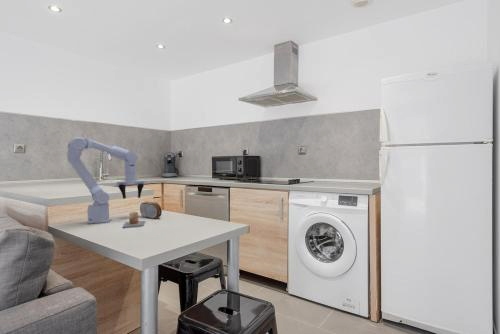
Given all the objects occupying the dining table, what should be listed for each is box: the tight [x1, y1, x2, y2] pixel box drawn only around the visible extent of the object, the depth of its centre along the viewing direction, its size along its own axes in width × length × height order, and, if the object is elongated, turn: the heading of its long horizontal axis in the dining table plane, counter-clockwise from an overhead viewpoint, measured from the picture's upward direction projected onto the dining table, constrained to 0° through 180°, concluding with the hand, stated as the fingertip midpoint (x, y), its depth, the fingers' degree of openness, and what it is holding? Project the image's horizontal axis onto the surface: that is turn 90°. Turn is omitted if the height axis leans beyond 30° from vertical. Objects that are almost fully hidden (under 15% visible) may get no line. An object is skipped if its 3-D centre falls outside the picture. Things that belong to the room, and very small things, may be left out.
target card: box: [122, 220, 146, 229], centre depth 134 cm, size 9×10×1 cm
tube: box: [128, 211, 139, 224], centre depth 134 cm, size 4×4×5 cm
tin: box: [139, 201, 162, 220], centre depth 151 cm, size 15×3×8 cm, turn 58°
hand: (131, 198), depth 153 cm, fingers open, 7 cm apart
